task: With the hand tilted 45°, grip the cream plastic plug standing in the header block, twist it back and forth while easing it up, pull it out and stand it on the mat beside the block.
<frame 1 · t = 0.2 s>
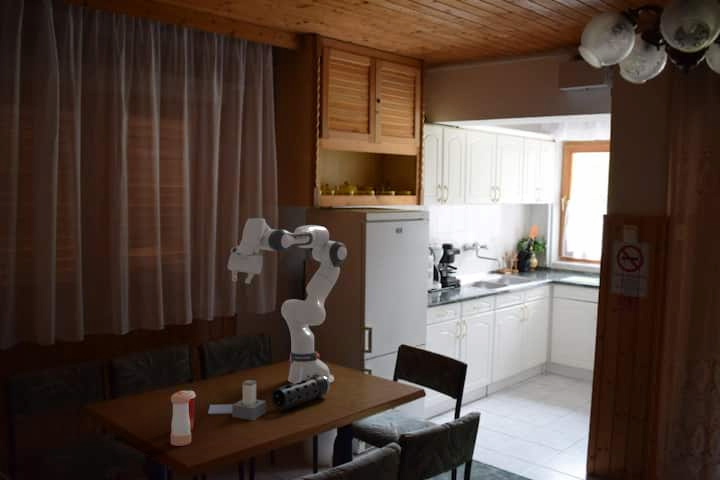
hand: (240, 282, 292), 52 cm above the table, tool tilted 20°, fingers open, 8 cm apart
mat: (221, 409, 280), on the table
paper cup: (185, 428, 258), on the table
pepper shaker: (181, 442, 245), on the table
plug: (249, 398, 274), in the header
header: (249, 414, 274), on the table
muzzle brake: (301, 404, 289), on the table
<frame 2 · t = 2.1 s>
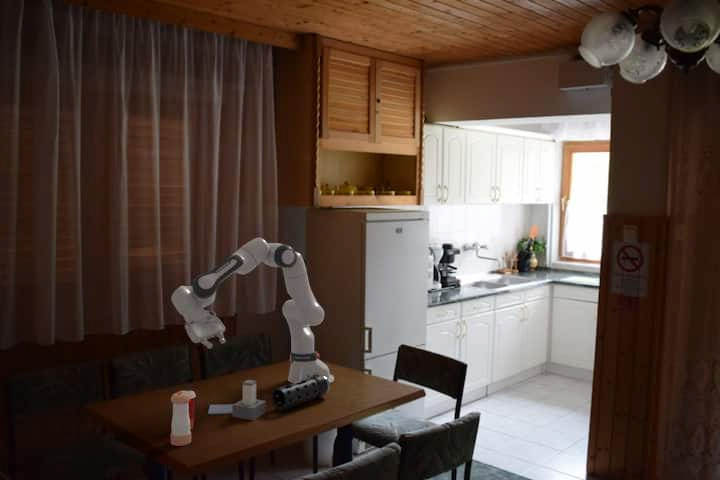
hand: (217, 345, 278), 28 cm above the table, tool tilted 45°, fingers open, 8 cm apart
nothing on the table moved.
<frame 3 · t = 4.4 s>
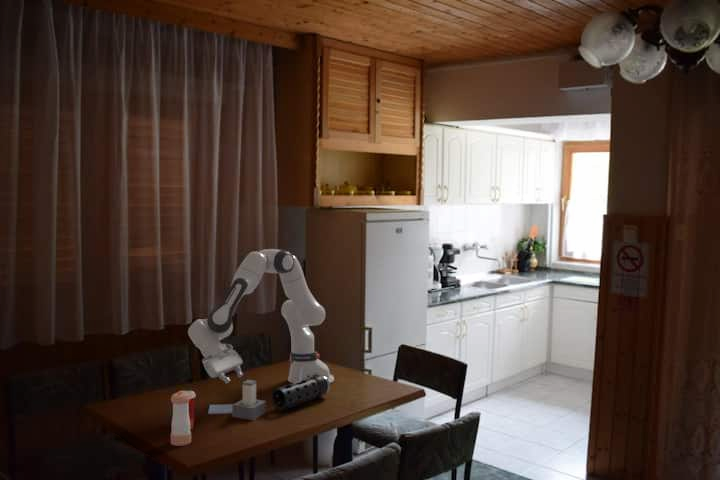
hand: (235, 379, 276), 14 cm above the table, tool tilted 45°, fingers open, 8 cm apart
nothing on the table moved.
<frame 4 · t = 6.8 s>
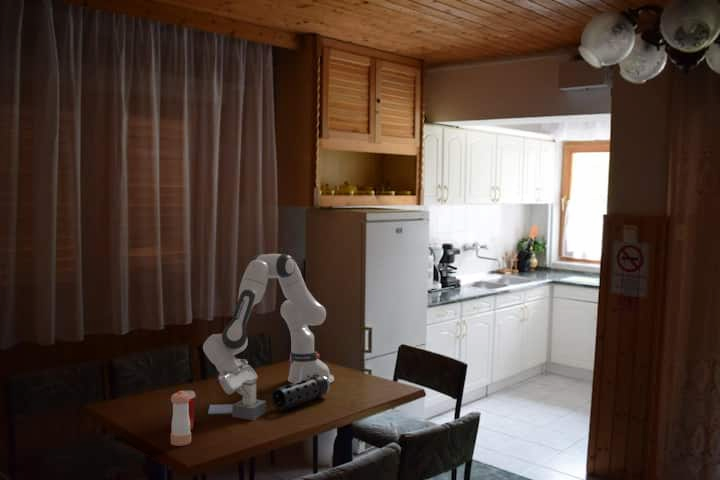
hand: (250, 395, 274), 8 cm above the table, tool tilted 45°, fingers closed on plug, 4 cm apart
plug: (249, 398, 274), in the header, touching gripper
everything else where it was.
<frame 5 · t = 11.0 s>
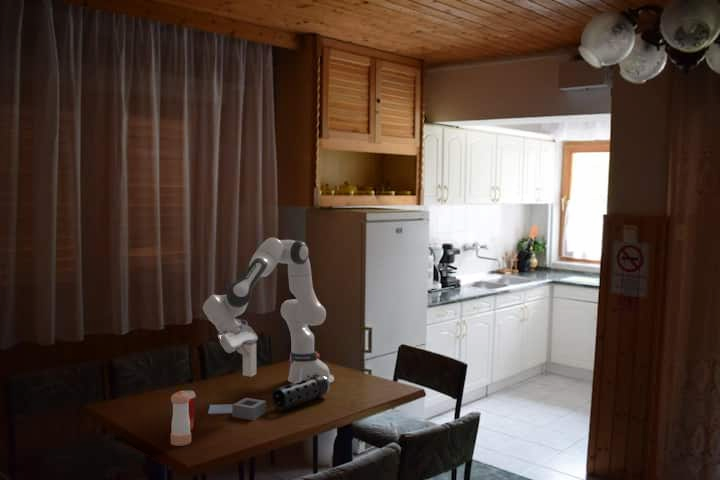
hand: (250, 354, 272), 25 cm above the table, tool tilted 45°, fingers closed on plug, 4 cm apart
plug: (249, 358, 272), point 24 cm above the table, touching gripper
everything else where it was.
when the fingers open (10 cm above the table, at t = 15.4 s): plug drops 1 cm, resting on mat.
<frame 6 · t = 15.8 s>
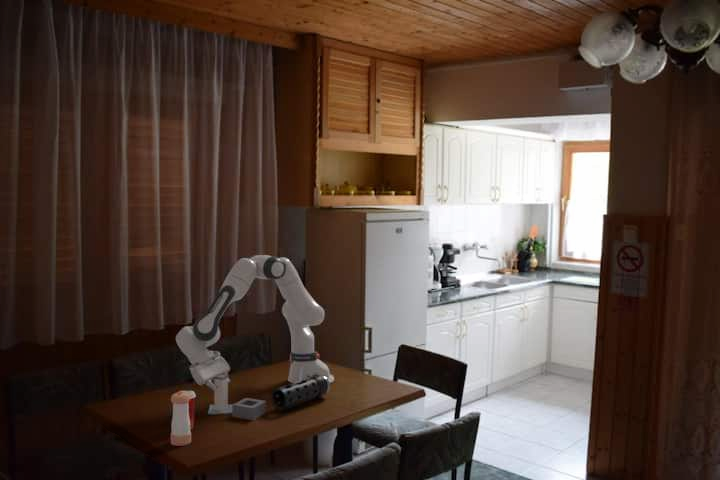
hand: (222, 386, 279), 10 cm above the table, tool tilted 45°, fingers open, 8 cm apart
plug: (221, 392, 279), on the mat, point 8 cm above the table
everything else where it was.
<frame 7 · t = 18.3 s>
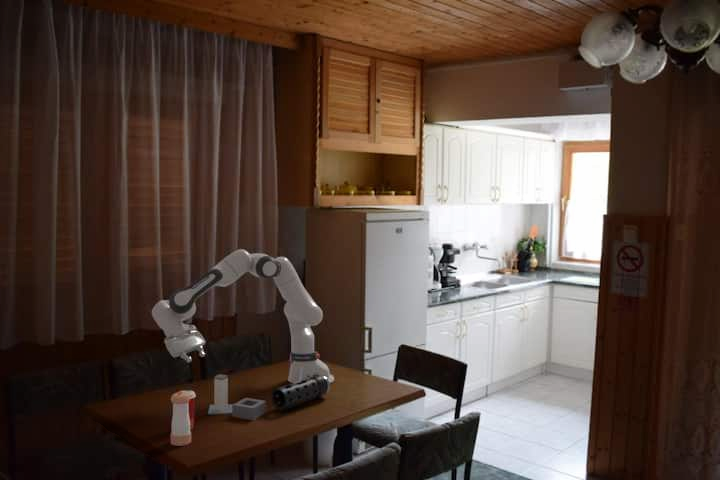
hand: (197, 358, 283), 20 cm above the table, tool tilted 45°, fingers open, 8 cm apart
nothing on the table moved.
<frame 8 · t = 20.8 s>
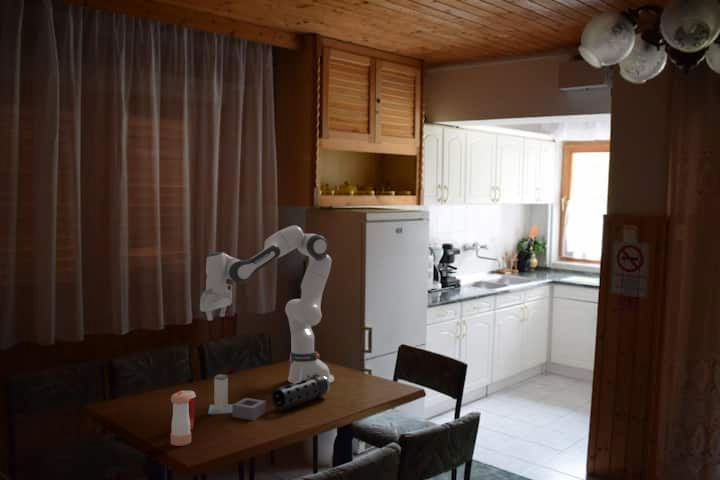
hand: (216, 318, 301), 34 cm above the table, tool pointing down, fingers open, 8 cm apart
nothing on the table moved.
at the end: plug inside the target area on the mat (0.1 cm from its centre), point 7.6 cm above the mat's base; plug tilted 0°; the gripper is holding nothing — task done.
